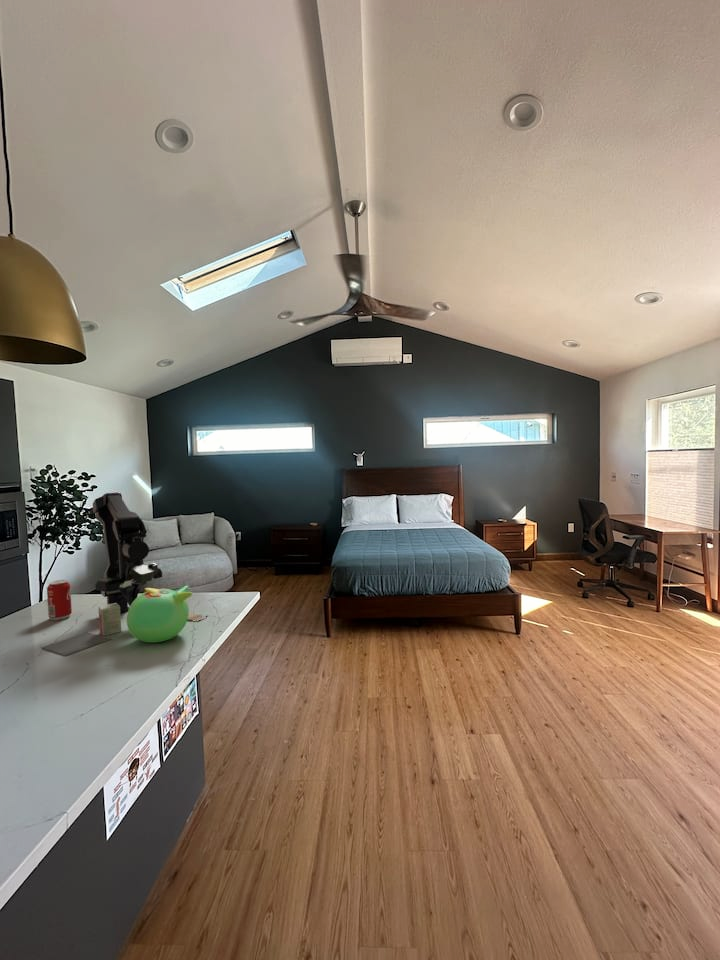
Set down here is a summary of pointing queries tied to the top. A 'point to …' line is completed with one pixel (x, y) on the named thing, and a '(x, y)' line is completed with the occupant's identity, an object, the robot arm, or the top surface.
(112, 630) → the small box
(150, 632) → the toy bird
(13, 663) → the top surface
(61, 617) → the beverage can
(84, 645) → the mat
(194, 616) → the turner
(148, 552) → the robot arm
